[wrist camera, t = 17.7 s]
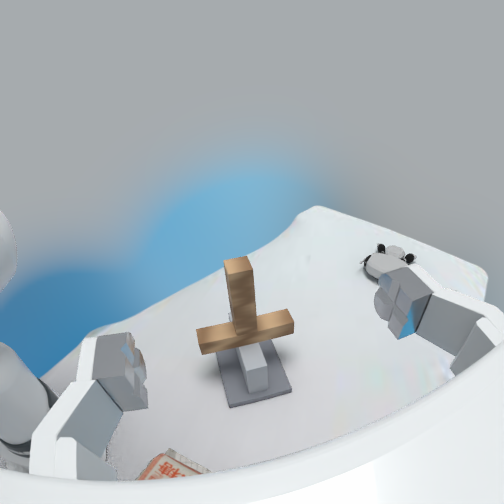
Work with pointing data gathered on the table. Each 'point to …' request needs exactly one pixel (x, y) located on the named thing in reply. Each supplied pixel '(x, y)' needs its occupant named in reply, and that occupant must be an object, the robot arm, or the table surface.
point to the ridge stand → (252, 373)
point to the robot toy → (386, 260)
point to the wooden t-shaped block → (243, 314)
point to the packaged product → (171, 467)
